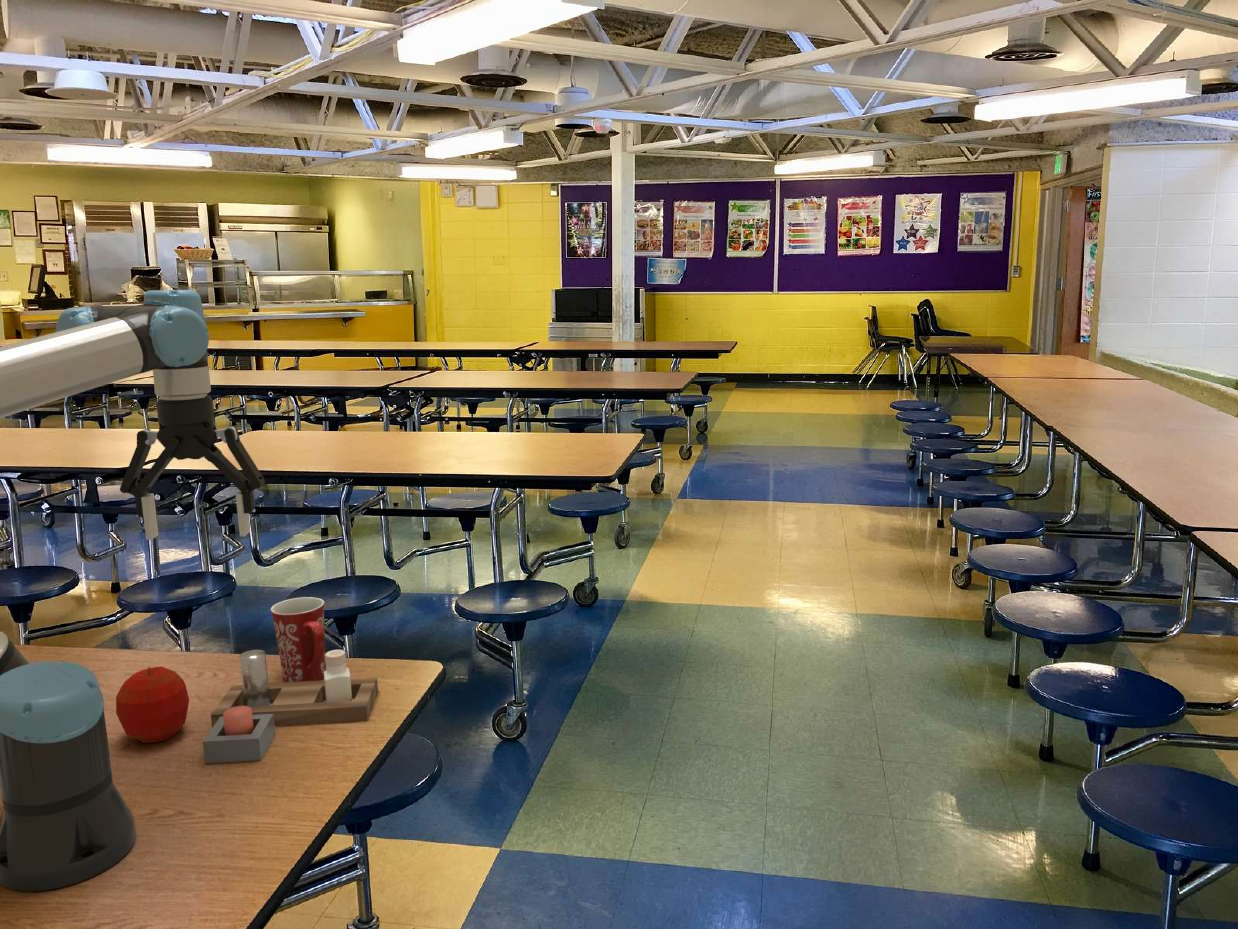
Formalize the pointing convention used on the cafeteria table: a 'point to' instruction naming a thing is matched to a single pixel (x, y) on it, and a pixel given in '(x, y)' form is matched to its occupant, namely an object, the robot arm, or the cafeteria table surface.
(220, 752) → the button housing
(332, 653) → the pepper shaker
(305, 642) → the mug
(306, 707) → the board
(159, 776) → the cafeteria table surface
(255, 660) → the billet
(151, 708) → the apple
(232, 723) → the button
